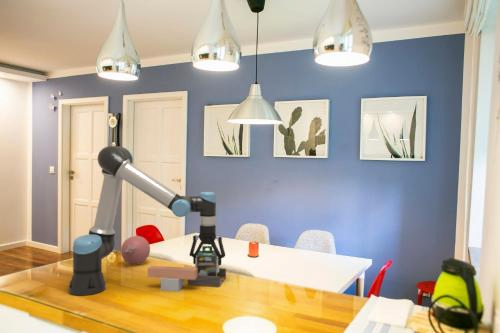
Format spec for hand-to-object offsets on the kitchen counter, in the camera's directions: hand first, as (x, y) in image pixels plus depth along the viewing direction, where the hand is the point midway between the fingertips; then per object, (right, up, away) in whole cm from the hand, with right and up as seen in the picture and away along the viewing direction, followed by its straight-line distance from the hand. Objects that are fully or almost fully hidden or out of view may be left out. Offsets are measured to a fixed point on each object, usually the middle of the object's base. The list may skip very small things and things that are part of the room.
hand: (207, 271), depth 187 cm
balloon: (-43, -4, +28) cm, 52 cm away
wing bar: (-15, 0, -10) cm, 18 cm away
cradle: (0, -5, 0) cm, 5 cm away
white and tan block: (-15, -5, -10) cm, 18 cm away
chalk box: (0, -3, 0) cm, 3 cm away
